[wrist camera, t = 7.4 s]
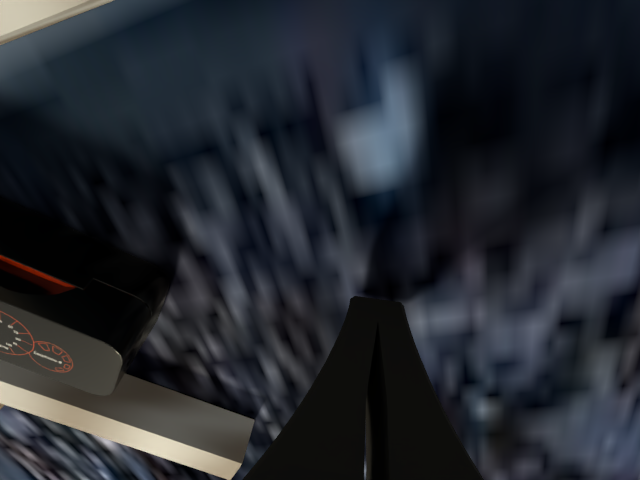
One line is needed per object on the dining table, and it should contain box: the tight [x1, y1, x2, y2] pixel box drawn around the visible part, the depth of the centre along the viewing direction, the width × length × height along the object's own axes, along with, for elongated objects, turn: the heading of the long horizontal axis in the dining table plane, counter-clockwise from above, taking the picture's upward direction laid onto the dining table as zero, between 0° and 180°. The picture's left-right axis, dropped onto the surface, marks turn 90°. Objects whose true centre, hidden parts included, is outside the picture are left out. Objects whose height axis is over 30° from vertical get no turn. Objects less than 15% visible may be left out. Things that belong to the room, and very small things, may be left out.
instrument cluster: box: [0, 197, 169, 396], centre depth 12 cm, size 5×7×3 cm, turn 64°
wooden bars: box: [0, 0, 254, 480], centre depth 12 cm, size 12×19×3 cm, turn 177°
